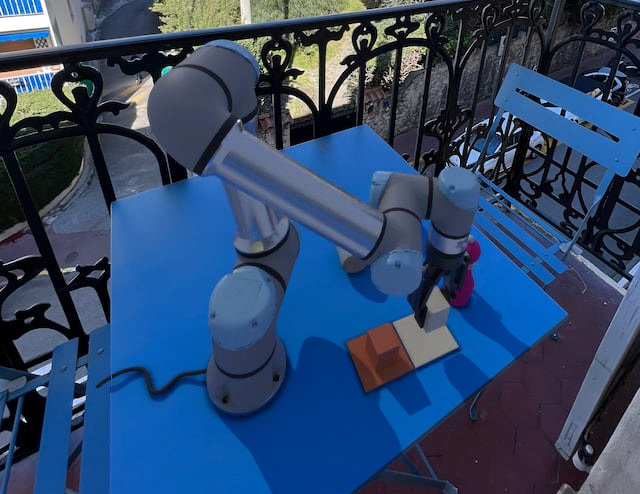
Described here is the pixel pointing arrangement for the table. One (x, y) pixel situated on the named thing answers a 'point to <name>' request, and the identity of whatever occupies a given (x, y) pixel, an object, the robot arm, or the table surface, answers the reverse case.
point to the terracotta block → (382, 347)
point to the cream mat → (424, 341)
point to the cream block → (436, 311)
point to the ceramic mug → (350, 261)
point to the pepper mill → (468, 273)
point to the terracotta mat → (366, 369)
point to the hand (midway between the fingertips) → (429, 317)
